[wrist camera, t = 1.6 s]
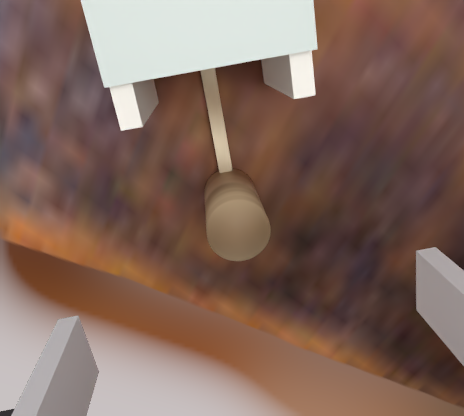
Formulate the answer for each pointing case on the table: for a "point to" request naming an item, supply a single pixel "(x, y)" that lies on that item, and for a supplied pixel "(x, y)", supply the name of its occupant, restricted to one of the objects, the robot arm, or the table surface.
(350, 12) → the table surface
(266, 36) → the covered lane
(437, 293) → the robot arm
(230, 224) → the block
